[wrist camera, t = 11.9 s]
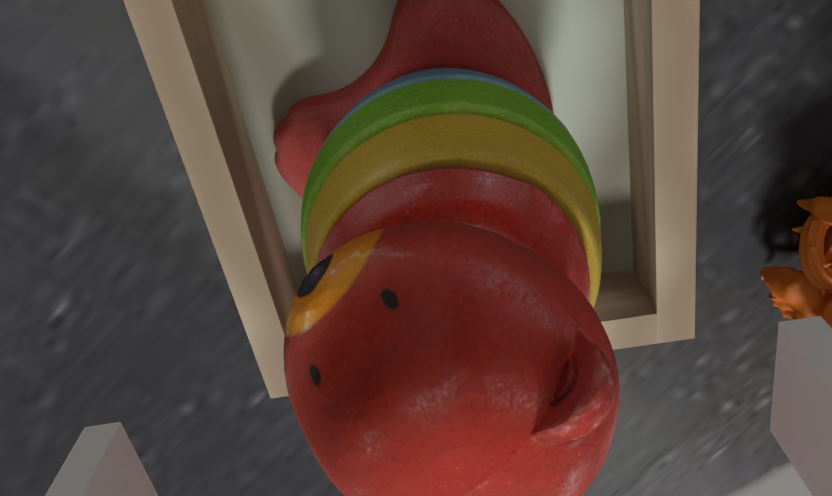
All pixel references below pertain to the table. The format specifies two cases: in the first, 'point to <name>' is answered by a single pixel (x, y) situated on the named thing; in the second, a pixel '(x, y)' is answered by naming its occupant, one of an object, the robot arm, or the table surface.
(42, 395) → the table surface
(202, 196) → the open wooden box
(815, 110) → the table surface
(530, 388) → the stacking bear
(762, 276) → the toy dinosaur
